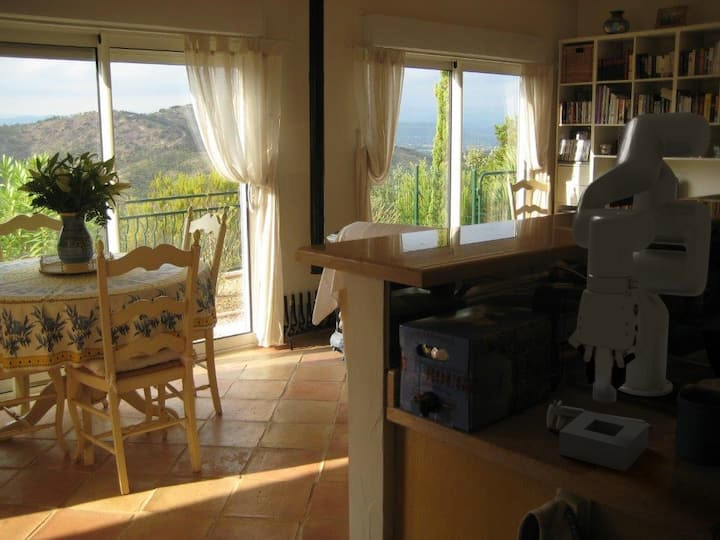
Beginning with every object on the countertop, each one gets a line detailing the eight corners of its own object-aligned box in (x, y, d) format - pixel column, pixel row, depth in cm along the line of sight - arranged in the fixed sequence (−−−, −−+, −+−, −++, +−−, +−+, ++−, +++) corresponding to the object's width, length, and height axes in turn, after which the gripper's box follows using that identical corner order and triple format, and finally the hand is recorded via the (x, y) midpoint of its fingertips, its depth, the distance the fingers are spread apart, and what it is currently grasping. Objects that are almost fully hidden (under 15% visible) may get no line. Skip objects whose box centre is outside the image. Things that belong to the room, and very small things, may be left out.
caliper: (547, 431, 142) (548, 401, 141) (546, 429, 143) (547, 399, 142) (651, 428, 142) (652, 398, 141) (649, 426, 143) (650, 396, 142)
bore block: (584, 432, 141) (585, 410, 140) (647, 447, 133) (648, 424, 133) (558, 454, 132) (559, 431, 131) (625, 471, 124) (626, 447, 123)
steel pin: (597, 393, 133) (599, 340, 131) (619, 397, 130) (621, 344, 129) (589, 399, 130) (591, 345, 128) (611, 404, 127) (613, 349, 126)
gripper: (665, 286, 124) (660, 387, 127) (572, 276, 135) (569, 371, 138) (651, 293, 119) (646, 399, 122) (555, 282, 129) (552, 381, 132)
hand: (605, 383), depth 130 cm, fingers closed on steel pin, 4 cm apart
